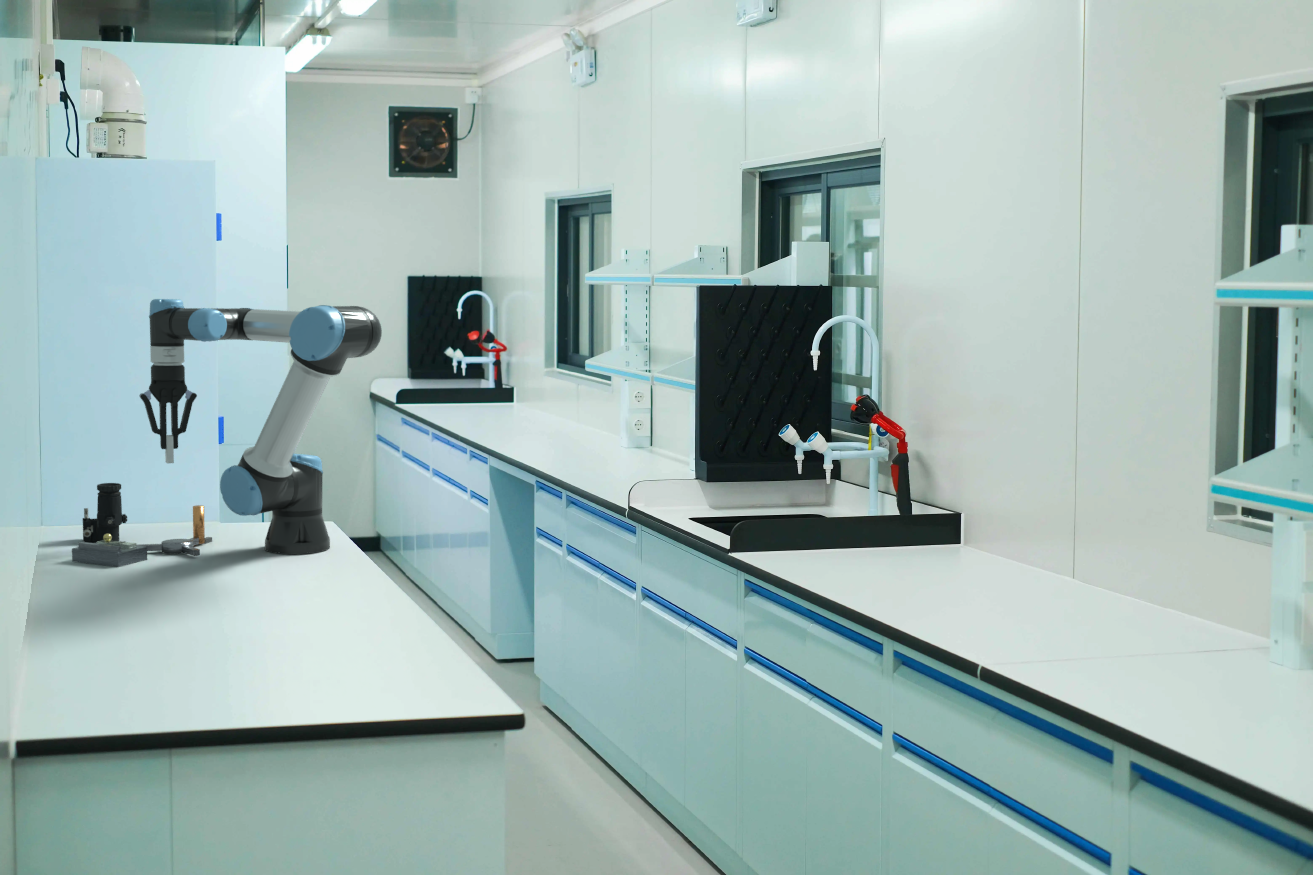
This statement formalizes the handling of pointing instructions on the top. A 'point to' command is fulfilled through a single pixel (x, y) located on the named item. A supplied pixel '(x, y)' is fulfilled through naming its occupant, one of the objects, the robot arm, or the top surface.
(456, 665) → the top surface
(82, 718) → the top surface
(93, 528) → the scope
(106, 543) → the level stand
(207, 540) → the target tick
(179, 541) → the capstan
